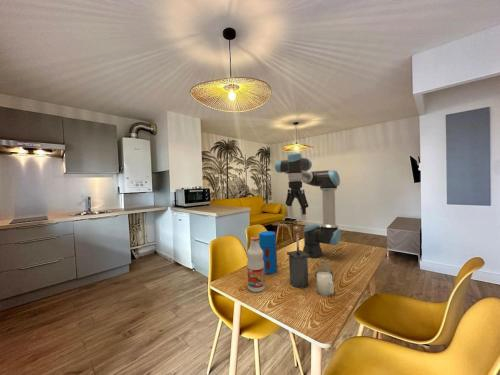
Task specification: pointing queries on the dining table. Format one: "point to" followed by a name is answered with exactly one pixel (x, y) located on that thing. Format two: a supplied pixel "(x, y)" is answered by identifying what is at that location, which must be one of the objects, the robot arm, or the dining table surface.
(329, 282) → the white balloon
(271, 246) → the thermos
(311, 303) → the dining table surface
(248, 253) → the fruit juice
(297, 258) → the press body
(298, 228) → the plunger
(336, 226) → the robot arm
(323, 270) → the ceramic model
